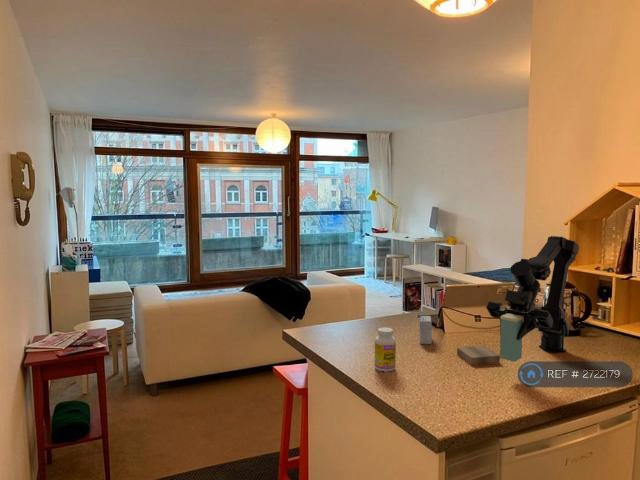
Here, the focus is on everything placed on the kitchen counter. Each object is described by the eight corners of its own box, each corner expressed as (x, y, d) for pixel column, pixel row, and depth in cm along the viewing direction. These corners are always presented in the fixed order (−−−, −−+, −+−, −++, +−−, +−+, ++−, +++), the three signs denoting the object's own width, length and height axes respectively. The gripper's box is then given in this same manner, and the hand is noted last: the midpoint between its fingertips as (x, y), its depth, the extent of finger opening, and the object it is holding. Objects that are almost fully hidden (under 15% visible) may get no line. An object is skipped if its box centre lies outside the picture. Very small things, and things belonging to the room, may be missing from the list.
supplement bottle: (382, 374, 146) (382, 334, 144) (370, 367, 152) (370, 328, 150) (399, 370, 149) (400, 330, 147) (387, 363, 155) (387, 325, 153)
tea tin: (506, 353, 145) (507, 313, 143) (522, 357, 141) (523, 316, 140) (499, 357, 142) (500, 316, 140) (515, 362, 138) (516, 319, 137)
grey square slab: (484, 353, 163) (484, 345, 163) (499, 364, 153) (499, 355, 153) (457, 355, 162) (457, 347, 161) (470, 366, 152) (471, 357, 152)
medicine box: (431, 344, 172) (432, 321, 171) (419, 344, 173) (419, 321, 172) (431, 337, 180) (431, 315, 179) (419, 337, 181) (419, 315, 180)
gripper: (489, 275, 148) (471, 317, 142) (551, 284, 135) (533, 330, 128) (500, 296, 154) (483, 336, 148) (560, 305, 141) (544, 350, 135)
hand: (509, 337), depth 140 cm, fingers closed on tea tin, 5 cm apart
